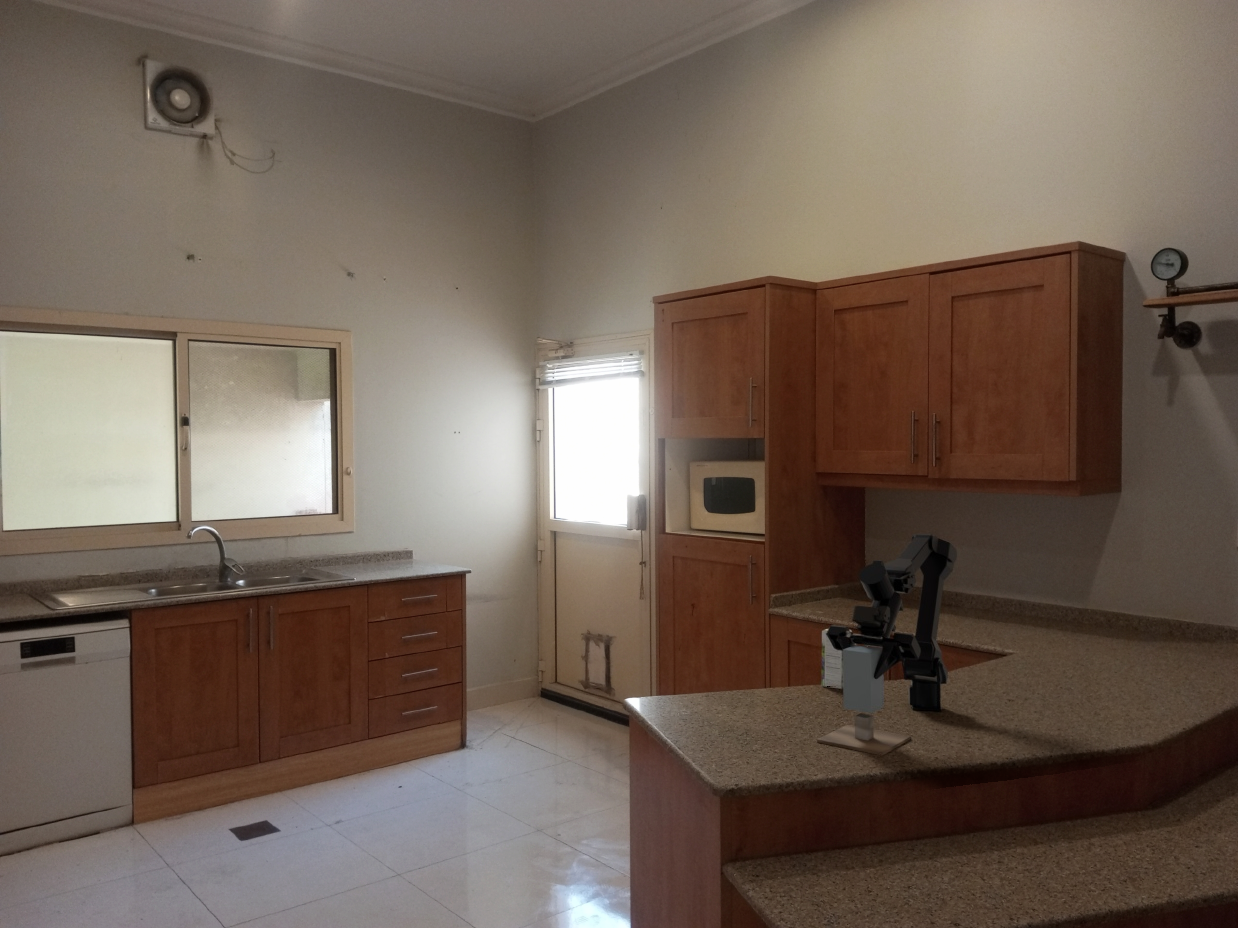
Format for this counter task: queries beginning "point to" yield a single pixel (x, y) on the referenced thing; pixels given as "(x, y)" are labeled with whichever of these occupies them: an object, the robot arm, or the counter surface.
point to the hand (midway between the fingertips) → (860, 675)
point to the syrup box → (831, 664)
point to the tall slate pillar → (862, 679)
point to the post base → (864, 745)
